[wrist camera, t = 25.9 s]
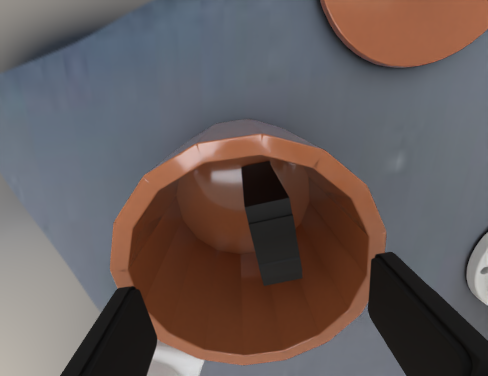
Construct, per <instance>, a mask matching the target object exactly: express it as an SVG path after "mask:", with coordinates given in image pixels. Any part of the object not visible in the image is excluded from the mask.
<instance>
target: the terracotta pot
mask: <svg viewBox="0 0 488 376" xmlns="http://www.w3.org/2000/svg"><path fill="white" fill-rule="evenodd" d="M266 161H270V162H271V166H272V168H273V170H274V172H275V173H276V175H277V177H278V179H279V180H280V182H281V184H282V186H283V187H284V189H285V191H286V193H287V194H288V196H289V198H290V203H291V209H292V214H293V218H294V223H295V229H296V237H297V243H298V249H299V255H300V259H301V265H302V276H303V278H302V279H297V280H292V281H287V282H282V283H277V284H272V285H267V286H264V285H263V281H262V278H261V274H260V270H259V265H258V261H257V257H256V253H255V249H254V245H253V241H252V237H251V233H250V229H249V225H248V220H247V216H246V212H245V207H244V196H243V185H242V173H241V167H244V166H248V165H253V164H257V163H262V162H266ZM385 245H386V229H385V226H384V224H383V222H382V219H381V217H380V214H379V212H378V210H377V207H376V205H375V202H374V200H373V198H372V195H371V193H370V190H369V188H368V187H367V185H366V184H365V183H364V182H363V181H362V180H360V179H359V178H358V177H357V176H355V175H354V174H353V173H352V172H351V171H349V170H348V169H347V168H346V167H345V166H343V165H342V164H341V163H340V162H339V161H337V160H336V159H335V158H334V157H333V156H331V155H330V154H329V153H328V152H327V151H325V150H324V149H322V148H320V147H318V146H316V145H314V144H312V143H310V142H308V141H306V140H304V139H302V138H300V137H298V136H297V135H295V134H293V133H291V132H289V131H287V130H285V129H283V128H281V127H278V126H274V125H271V124H267V123H264V122H260V121H256V120H252V119H243V120H234V121H228V122H223V123H216V124H214V125H212V126H211V127H209V128H208V129H206V130H204V131H202V132H201V133H200V134H198V135H196V136H195V137H193V138H192V139H190V140H188V141H187V142H186V143H185V144H183V145H182V146H181V147H179V148H178V149H177V150H176V151H174V152H173V153H172V154H170V155H169V156H168V157H167V158H165V159H164V160H163V161H161V162H160V163H159V164H158V165H156V166H155V167H154V168H152V169H151V170H150V171H149V172H147V173H146V174H145V175H144V176H143V177H142V178H141V180H140V181H139V183H138V185H137V186H136V188H135V189H134V191H133V192H132V194H131V196H130V197H129V199H128V200H127V202H126V203H125V205H124V207H123V208H122V210H121V211H120V213H119V214H118V216H117V218H116V219H115V222H114V223H113V236H112V248H111V261H110V271H111V274H112V276H113V279H114V281H115V283H116V286H117V288H122V287H129V286H134V287H135V288H136V289H139V290H140V292H141V295H142V297H143V300H144V302H145V305H146V308H147V310H148V313H149V316H150V318H151V321H152V324H153V326H154V329H155V332H156V334H157V340H160V342H162V343H164V344H167V345H169V346H171V347H173V348H175V349H178V350H180V351H182V352H184V353H186V354H189V355H191V356H193V357H195V358H197V359H199V358H200V360H208V361H215V362H222V363H229V364H237V365H251V364H259V363H266V362H274V361H281V360H287V359H289V358H292V357H294V356H296V355H299V354H301V353H303V352H306V351H308V350H311V349H313V348H315V347H318V346H320V345H322V344H325V343H327V342H328V341H330V340H331V339H332V338H333V337H334V336H336V335H337V334H338V333H339V332H340V331H342V330H343V329H344V328H345V327H346V326H348V325H349V324H350V323H351V322H352V321H353V320H355V319H356V318H357V317H358V316H359V315H360V314H361V313H362V312H363V310H364V308H365V306H366V305H367V303H368V301H369V286H370V270H371V260H372V259H373V258H375V255H376V254H380V253H385Z"/></svg>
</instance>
